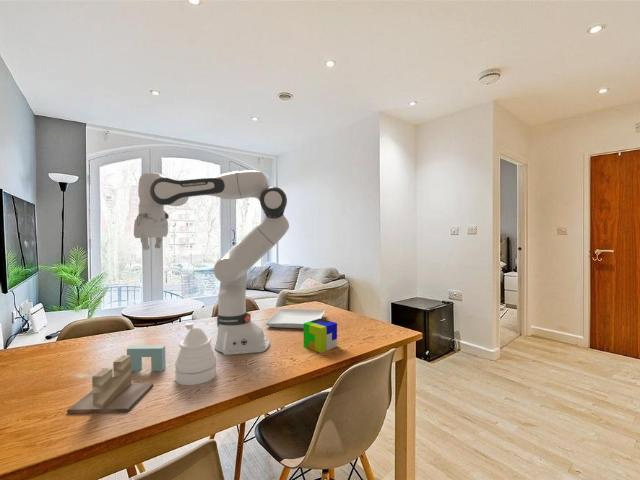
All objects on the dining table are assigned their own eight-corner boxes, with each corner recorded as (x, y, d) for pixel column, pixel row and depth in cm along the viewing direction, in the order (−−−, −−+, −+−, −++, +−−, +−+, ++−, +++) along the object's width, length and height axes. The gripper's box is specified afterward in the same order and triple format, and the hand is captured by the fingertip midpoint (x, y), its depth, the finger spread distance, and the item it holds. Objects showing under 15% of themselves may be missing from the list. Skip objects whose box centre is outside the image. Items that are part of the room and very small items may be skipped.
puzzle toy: (337, 346, 134) (337, 323, 134) (320, 353, 127) (321, 328, 127) (319, 340, 141) (319, 318, 141) (303, 346, 134) (303, 323, 133)
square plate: (278, 314, 184) (278, 308, 184) (325, 316, 180) (325, 309, 180) (264, 329, 157) (264, 321, 157) (318, 332, 153) (318, 324, 153)
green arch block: (165, 367, 113) (165, 345, 113) (162, 371, 111) (161, 348, 110) (131, 368, 113) (130, 346, 112) (127, 371, 110) (126, 348, 110)
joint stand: (153, 386, 100) (152, 355, 100) (128, 412, 86) (127, 375, 86) (101, 387, 99) (100, 355, 99) (67, 413, 85) (66, 376, 85)
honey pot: (175, 388, 99) (174, 331, 98) (175, 371, 111) (175, 320, 110) (218, 380, 104) (217, 326, 103) (214, 364, 116) (213, 316, 115)
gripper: (146, 213, 116) (146, 250, 116) (170, 215, 136) (171, 247, 137) (128, 213, 116) (129, 250, 116) (155, 215, 136) (156, 247, 137)
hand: (152, 248), depth 127 cm, fingers open, 8 cm apart
